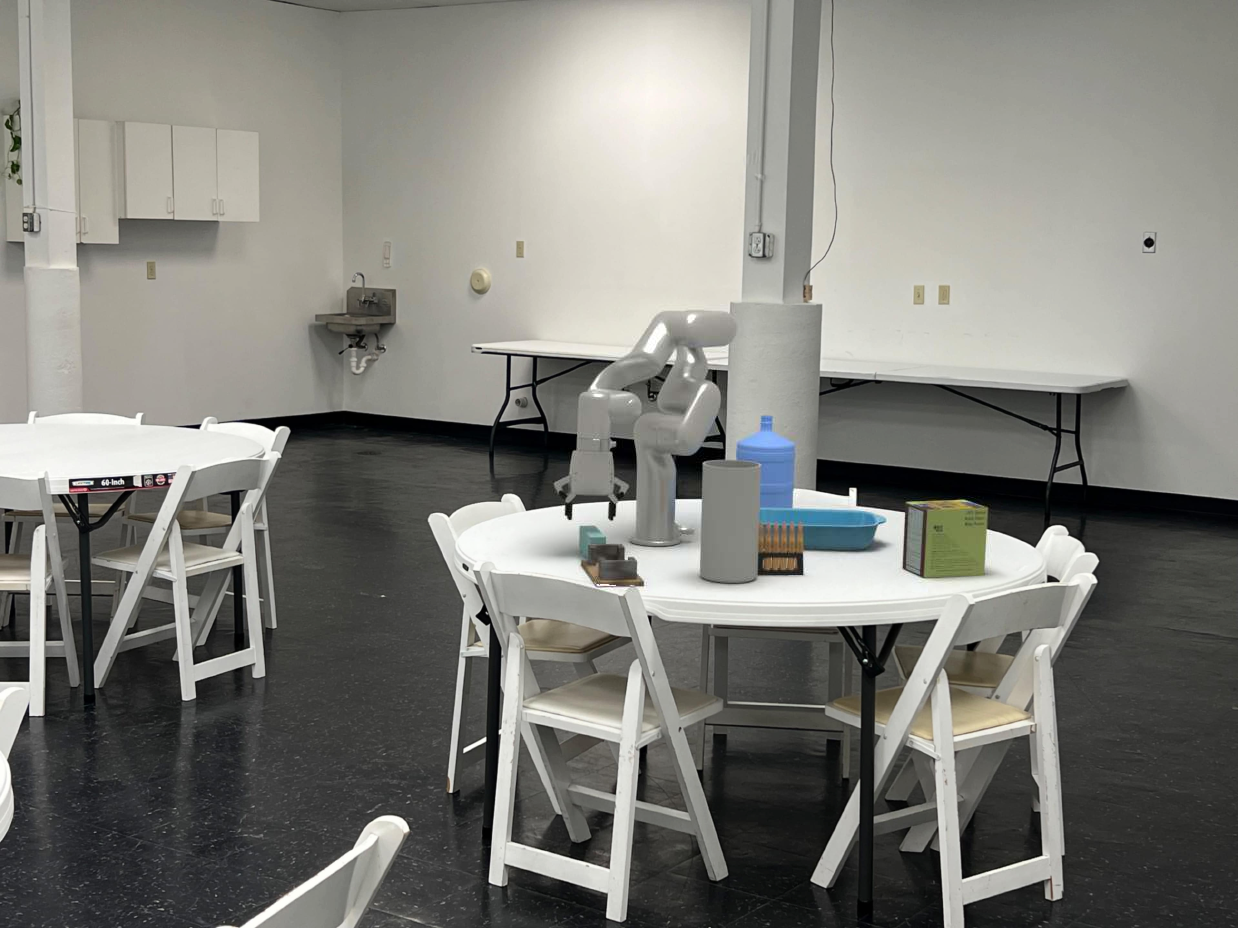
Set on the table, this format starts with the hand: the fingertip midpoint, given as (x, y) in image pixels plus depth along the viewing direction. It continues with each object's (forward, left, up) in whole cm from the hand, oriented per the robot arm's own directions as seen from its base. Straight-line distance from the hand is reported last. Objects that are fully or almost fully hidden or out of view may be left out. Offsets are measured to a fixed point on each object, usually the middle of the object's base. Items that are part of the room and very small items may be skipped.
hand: (590, 519), depth 322 cm
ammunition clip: (-39, +22, -9) cm, 46 cm away
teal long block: (-1, -1, -9) cm, 9 cm away
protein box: (-77, +23, -9) cm, 81 cm away
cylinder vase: (-27, +24, -9) cm, 37 cm away
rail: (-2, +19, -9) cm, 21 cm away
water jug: (-54, -42, -9) cm, 69 cm away
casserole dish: (-57, -12, -9) cm, 59 cm away
